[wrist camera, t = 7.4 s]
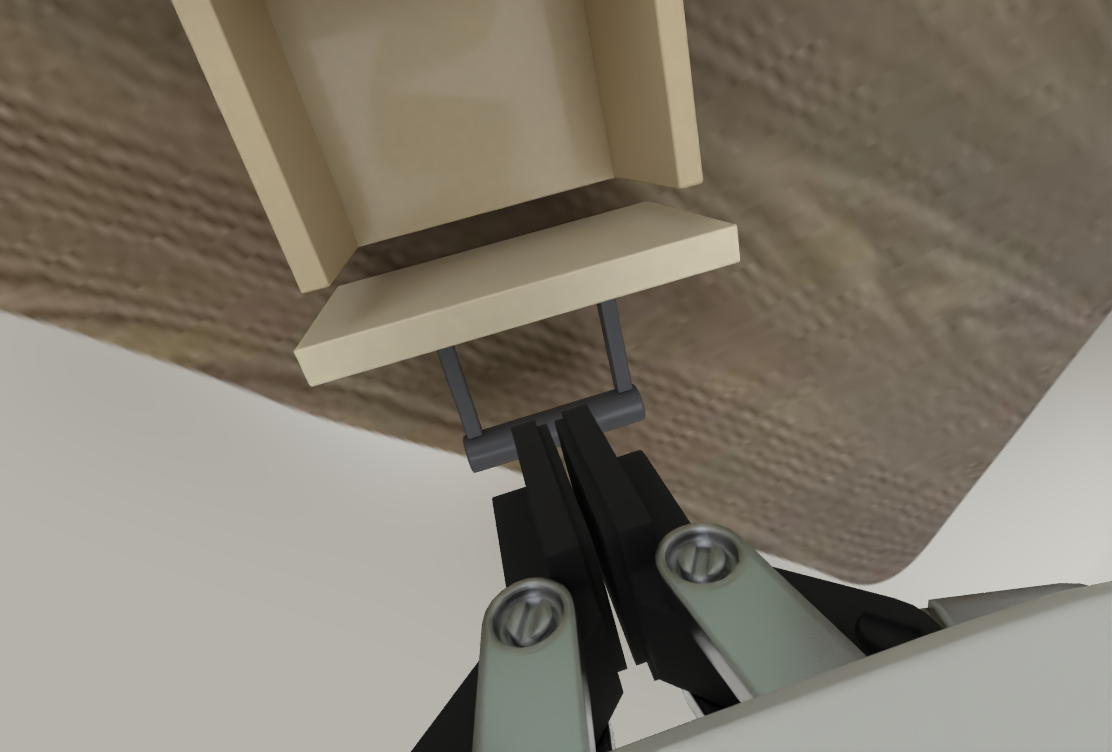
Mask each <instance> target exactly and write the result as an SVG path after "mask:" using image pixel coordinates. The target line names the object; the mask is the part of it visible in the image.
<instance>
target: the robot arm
mask: <svg viewBox="0 0 1112 752" xmlns="http://www.w3.org/2000/svg"><path fill="white" fill-rule="evenodd" d="M562 417H563V418H561V419H558V420H555V421H554V423H555V427H556V431H557V434H558V438H559V441H560V445H561V449H562V452H563V456H564V459H565V463H566V467H567V470H568V474H569V477H570V481H571V484H570V482H569V479H568V477H567V474H566V471H565V469H564V466H563V464H562V461H561V459H560V456H559V454H558V451H557V448H556V446H555V443H554V441H553V438H552V436H551V433H550V431H549V428H548V425H547V423H546V424H542V425H539V426H537V424H536V421H535V420H533V421H529V422H526V423H523V424H520V425H517V426H513V427H511V431H512V435H513V439H514V443H515V447H516V450H517V454H518V458H519V462H520V466H521V469H522V473H523V477H524V481H525V485H526V487H524V488H520V489H518V490H514V491H511V492H508V493H505V494H502V495H499V496H496V497H493V498H492V501H493V508H494V514H495V520H496V527H497V533H498V539H499V545H500V551H501V558H502V564H503V570H504V576H505V583H506V588H505V589H504V590H502V591H501V592H500V593H499V594H498V595H497V596H496V597H495V598H494V599H493V600H492V601H491V603H490V605H489V607H488V608H487V610H486V612H485V615H484V619H483V623H482V633H481V644H480V657H479V661H478V663H477V664H476V665H475V667H474V668H473V670H472V671H471V672H470V674H469V675H468V676H467V678H466V679H465V680H464V682H463V683H462V684H461V686H460V687H459V688H458V690H457V691H456V692H455V694H454V695H453V696H452V698H451V699H450V700H449V702H448V703H447V704H446V706H445V707H444V709H443V710H442V711H441V712H440V714H439V715H438V716H437V718H436V719H435V720H434V722H433V723H432V725H431V726H430V727H429V728H428V730H427V731H426V732H425V734H424V735H423V736H422V738H421V739H420V740H419V742H418V743H417V744H416V746H415V747H414V748H413V750H412V751H411V752H1112V581H1111V582H1105V583H1100V584H1095V585H1091V586H1087V585H1083V584H1067V583H1059V584H1051V585H1043V586H1035V587H1027V588H1019V589H1011V590H1003V591H995V592H988V593H979V594H971V595H963V596H956V597H948V598H940V599H932V600H929V602H928V608H922V609H918V608H917V607H915V606H913V605H911V604H908V603H906V602H903V601H900V600H897V599H895V598H891V597H887V596H883V595H879V594H876V593H872V592H868V591H864V590H860V589H856V588H852V587H849V586H845V585H841V584H837V583H833V582H829V581H825V580H822V579H817V578H814V577H810V576H806V575H802V574H798V573H795V572H791V571H787V570H783V569H779V568H775V567H772V566H771V565H770V564H769V563H768V562H767V561H766V560H765V559H764V558H762V556H760V555H759V554H758V553H757V552H756V551H755V550H754V549H753V548H752V547H751V546H750V545H749V544H748V543H747V542H746V541H745V540H744V539H743V538H741V537H740V536H739V535H738V534H736V533H735V532H733V531H732V530H731V529H729V528H726V527H723V526H721V525H718V524H712V523H693V524H691V523H690V522H689V520H688V519H687V517H686V516H685V514H684V513H683V511H682V509H681V508H680V506H679V505H678V503H677V502H676V500H675V499H674V497H673V496H672V494H671V493H670V491H669V490H668V488H667V487H666V485H665V484H664V482H663V481H662V479H661V478H660V476H659V475H658V473H657V472H656V470H655V469H654V467H653V466H652V464H651V463H650V461H649V460H648V458H647V457H646V455H645V454H644V453H643V451H641V450H638V451H635V452H632V453H629V454H626V455H623V456H619V457H616V455H615V453H614V452H613V450H612V448H611V446H610V444H609V443H608V441H607V439H606V437H605V436H604V434H603V432H602V430H601V429H600V427H599V425H598V423H597V422H596V420H595V418H594V416H593V415H592V413H591V411H590V409H589V408H588V406H587V404H584V405H581V406H577V407H574V408H571V409H568V410H565V411H562ZM571 485H572V487H571ZM572 488H573V489H572ZM604 583H605V584H604ZM605 585H606V588H607V591H608V593H609V596H610V598H611V601H612V604H613V606H614V609H615V611H616V614H617V617H618V619H619V622H620V625H621V627H622V630H623V632H624V635H625V638H626V640H627V643H628V646H629V648H630V651H631V653H632V656H633V659H634V661H635V663H636V665H639V664H642V663H644V662H647V663H648V666H649V668H650V671H651V673H652V676H653V678H654V681H655V680H658V679H660V680H662V681H664V682H667V683H669V684H672V685H674V686H676V687H679V688H681V689H682V691H683V694H684V696H685V699H686V701H687V703H688V705H689V707H690V708H691V710H692V712H693V713H694V715H695V716H696V718H697V719H695V720H693V721H690V722H687V723H685V724H682V725H679V726H677V727H674V728H671V729H668V730H666V731H663V732H660V733H658V734H655V735H652V736H650V737H647V738H644V739H642V740H639V741H636V742H633V743H631V744H628V745H625V746H623V747H620V748H617V749H616V746H615V739H614V733H613V729H612V726H611V723H610V718H611V716H612V714H613V712H614V710H615V708H616V706H617V704H618V702H619V700H620V698H621V696H622V694H623V689H622V686H621V682H620V679H619V675H618V672H619V671H622V670H625V669H627V665H626V662H625V658H624V654H623V651H622V647H621V643H620V639H619V636H618V632H617V628H616V625H615V621H614V618H613V614H612V610H611V606H610V603H609V599H608V595H607V591H606V588H605Z"/></svg>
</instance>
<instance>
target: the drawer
mask: <svg viewBox="0 0 1112 752" xmlns="http://www.w3.org/2000/svg"><path fill="white" fill-rule="evenodd" d="M171 1H172V3H173V5H174V7H175V10H176V12H177V14H178V16H179V19H180V21H181V23H182V25H183V28H184V30H185V32H186V34H187V37H188V39H189V41H190V43H191V46H192V48H193V50H194V52H195V55H196V57H197V59H198V61H199V64H200V66H201V68H202V70H203V73H204V75H205V77H206V79H207V82H208V84H209V86H210V88H211V91H212V93H213V95H214V97H215V100H216V102H217V104H218V106H219V109H220V111H221V113H222V115H223V118H224V120H225V122H226V124H227V127H228V129H229V131H230V133H231V136H232V138H233V140H234V142H235V144H236V147H237V149H238V151H239V153H240V156H241V158H242V160H243V162H244V165H245V167H246V169H247V171H248V174H249V176H250V178H251V180H252V183H253V185H254V187H255V189H256V192H257V194H258V196H259V198H260V201H261V203H262V205H263V207H264V210H265V212H266V214H267V216H268V219H269V221H270V223H271V225H272V228H273V230H274V232H275V234H276V237H277V239H278V241H279V243H280V246H281V248H282V250H283V252H284V255H285V257H286V259H287V261H288V264H289V266H290V268H291V270H292V273H293V275H294V277H295V279H296V282H297V284H298V286H299V288H300V291H301V292H302V293H307V292H311V291H314V290H318V289H322V288H325V287H329V286H330V285H331V283H332V282H333V281H334V279H335V278H336V277H337V275H338V274H339V273H340V271H341V270H342V268H343V267H344V266H345V264H346V263H347V262H348V260H349V259H350V258H351V256H352V255H353V254H354V252H355V251H356V250H357V248H358V247H361V246H365V245H369V244H372V243H376V242H380V241H383V240H387V239H391V238H394V237H398V236H402V235H406V234H409V233H413V232H417V231H420V230H424V229H428V228H431V227H435V226H439V225H442V224H446V223H450V222H454V221H457V220H461V219H465V218H468V217H472V216H476V215H479V214H483V213H487V212H490V211H494V210H498V209H501V208H505V207H509V206H513V205H516V204H520V203H524V202H527V201H531V200H535V199H538V198H542V197H546V196H549V195H553V194H557V193H561V192H564V191H568V190H572V189H575V188H579V187H583V186H586V185H590V184H594V183H597V182H601V181H605V180H608V179H612V178H616V177H617V178H622V179H628V180H633V181H639V182H645V183H650V184H656V185H662V186H667V187H673V188H678V189H683V188H687V187H690V186H694V185H697V184H701V183H702V182H703V176H702V167H701V158H700V149H699V140H698V131H697V122H696V113H695V104H694V95H693V86H692V77H691V68H690V59H689V50H688V41H687V32H686V23H685V14H684V6H683V0H171ZM739 261H740V253H739V242H738V231H737V225H735V224H731V223H728V222H724V221H720V220H716V219H713V218H709V217H705V216H701V215H697V214H694V213H690V212H686V211H682V210H678V209H675V208H671V207H667V206H663V205H660V204H656V203H652V202H648V201H645V202H641V203H638V204H634V205H630V206H627V207H623V208H619V209H616V210H612V211H609V212H605V213H601V214H598V215H594V216H591V217H587V218H583V219H580V220H576V221H572V222H569V223H565V224H562V225H558V226H554V227H551V228H547V229H544V230H540V231H536V232H533V233H529V234H525V235H522V236H518V237H515V238H511V239H507V240H504V241H500V242H497V243H493V244H489V245H486V246H482V247H478V248H475V249H471V250H468V251H464V252H460V253H457V254H453V255H450V256H446V257H442V258H439V259H435V260H431V261H428V262H424V263H421V264H417V265H413V266H410V267H406V268H403V269H399V270H395V271H392V272H388V273H384V274H381V275H377V276H374V277H370V278H366V279H363V280H359V281H355V282H352V283H348V284H345V285H341V286H338V287H337V288H336V290H335V291H334V293H333V294H332V296H331V297H330V299H329V300H328V302H327V303H326V305H325V306H324V307H323V309H322V310H321V312H320V313H319V315H318V316H317V318H316V319H315V321H314V322H313V324H312V325H311V327H310V328H309V330H308V331H307V332H306V334H305V335H304V337H303V338H302V340H301V341H300V343H299V344H298V346H297V347H296V349H295V350H294V354H295V356H296V358H297V360H298V362H299V364H300V366H301V368H302V371H303V373H304V375H305V377H306V379H307V381H308V383H309V385H310V386H316V385H320V384H323V383H326V382H330V381H333V380H337V379H340V378H343V377H347V376H350V375H354V374H357V373H361V372H364V371H367V370H371V369H374V368H378V367H381V366H385V365H388V364H391V363H395V362H398V361H402V360H405V359H409V358H412V357H415V356H419V355H422V354H426V353H429V352H433V351H437V353H438V356H439V359H440V362H441V365H442V368H443V370H444V373H445V376H446V379H447V382H448V385H449V387H450V390H451V393H452V396H453V399H454V402H455V404H456V407H457V410H458V413H459V416H460V419H461V421H462V424H463V427H464V430H465V433H466V435H465V436H463V443H464V447H465V451H466V455H467V458H468V461H469V464H470V467H471V469H472V471H473V472H474V473H475V472H479V471H483V470H486V469H489V468H492V467H495V466H499V465H502V464H505V463H508V462H511V461H514V460H518V459H519V458H518V454H517V450H516V447H515V443H514V439H513V435H512V431H511V427H513V426H517V425H520V424H523V423H526V422H529V421H533V420H535V421H536V424H537V426H539V425H542V424H546V423H547V425H548V428H549V431H550V433H551V436H552V438H553V441H554V443H555V446H556V447H559V446H561V445H560V441H559V438H558V434H557V431H556V427H555V423H554V421H555V420H558V419H561V418H563V417H562V411H565V410H568V409H571V408H574V407H577V406H581V405H584V404H587V406H588V408H589V409H590V411H591V413H592V415H593V416H594V418H595V420H596V422H597V423H598V425H599V427H600V429H601V430H602V432H603V433H604V432H607V431H610V430H613V429H616V428H619V427H623V426H626V425H629V424H632V423H635V422H638V421H642V420H644V419H645V409H644V404H643V401H642V398H641V395H640V393H639V391H638V389H637V388H636V386H635V385H634V384H632V382H631V377H630V372H629V367H628V362H627V356H626V351H625V346H624V341H623V336H622V331H621V325H620V320H619V315H618V310H617V305H616V299H615V298H618V297H621V296H624V295H628V294H631V293H635V292H638V291H642V290H645V289H648V288H652V287H655V286H659V285H662V284H666V283H669V282H672V281H676V280H679V279H683V278H686V277H690V276H693V275H696V274H700V273H703V272H707V271H710V270H714V269H717V268H720V267H724V266H727V265H731V264H734V263H738V262H739ZM594 304H597V307H598V312H599V317H600V322H601V326H602V331H603V336H604V341H605V346H606V350H607V355H608V360H609V365H610V370H611V374H612V379H613V384H614V388H615V389H614V390H610V391H607V392H604V393H600V394H597V395H594V396H591V397H587V398H584V399H581V400H578V401H574V402H571V403H568V404H565V405H561V406H558V407H555V408H552V409H548V410H545V411H542V412H539V413H535V414H532V415H529V416H526V417H522V418H519V419H516V420H513V421H509V422H506V423H503V424H500V425H496V426H493V427H490V428H487V429H483V430H482V427H481V424H480V421H479V418H478V415H477V412H476V409H475V406H474V403H473V400H472V397H471V394H470V391H469V388H468V385H467V382H466V379H465V376H464V373H463V370H462V367H461V364H460V361H459V359H458V356H457V353H456V350H455V347H454V345H457V344H460V343H463V342H467V341H470V340H474V339H477V338H481V337H484V336H487V335H491V334H494V333H498V332H501V331H505V330H508V329H511V328H515V327H518V326H522V325H525V324H529V323H532V322H535V321H539V320H542V319H546V318H549V317H553V316H556V315H559V314H563V313H566V312H570V311H573V310H576V309H580V308H583V307H587V306H590V305H594Z"/></svg>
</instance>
